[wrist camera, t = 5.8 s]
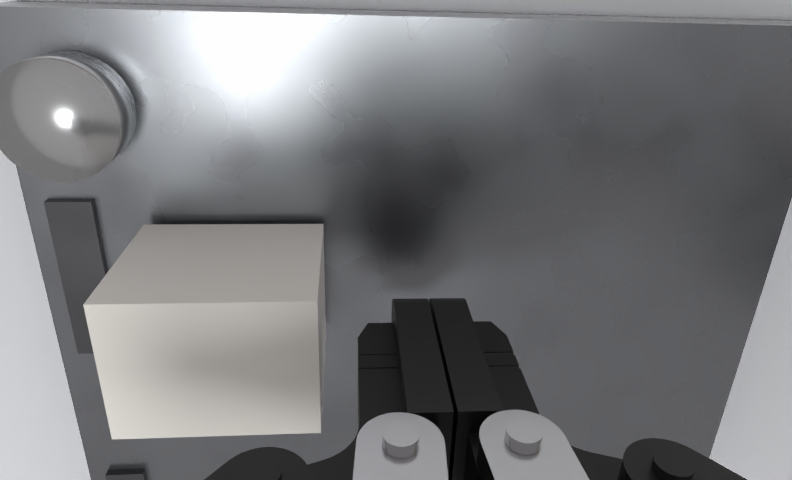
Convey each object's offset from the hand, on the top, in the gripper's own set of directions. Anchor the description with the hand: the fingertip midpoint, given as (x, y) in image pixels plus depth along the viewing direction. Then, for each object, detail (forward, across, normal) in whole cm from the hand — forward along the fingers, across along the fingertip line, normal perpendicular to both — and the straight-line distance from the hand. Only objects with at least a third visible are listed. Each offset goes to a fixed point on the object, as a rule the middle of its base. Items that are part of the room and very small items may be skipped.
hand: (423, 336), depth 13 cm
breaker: (+2, +4, 0) cm, 5 cm away
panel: (+4, 0, +4) cm, 6 cm away
